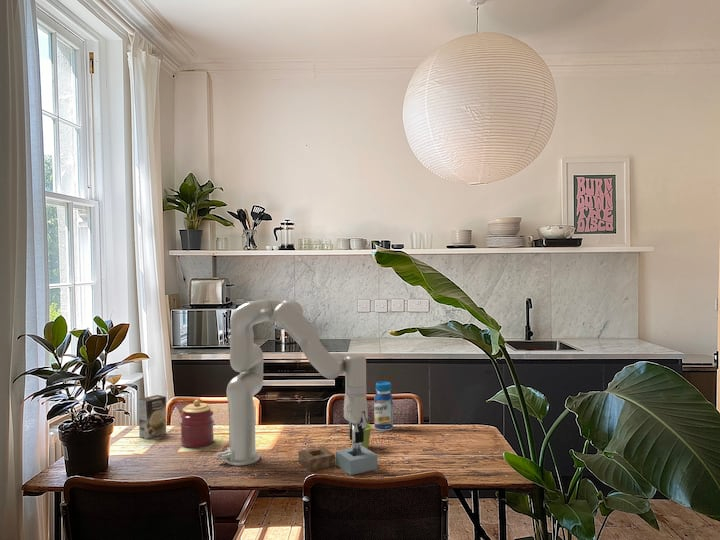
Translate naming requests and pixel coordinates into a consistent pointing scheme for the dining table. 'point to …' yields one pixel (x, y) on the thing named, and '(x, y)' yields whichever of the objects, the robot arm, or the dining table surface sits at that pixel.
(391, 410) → the beverage bottle
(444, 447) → the dining table surface
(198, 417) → the canister
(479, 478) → the dining table surface
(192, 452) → the dining table surface
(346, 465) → the dock block
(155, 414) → the coffee box
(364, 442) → the plant pot
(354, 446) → the pin
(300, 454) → the mount block
